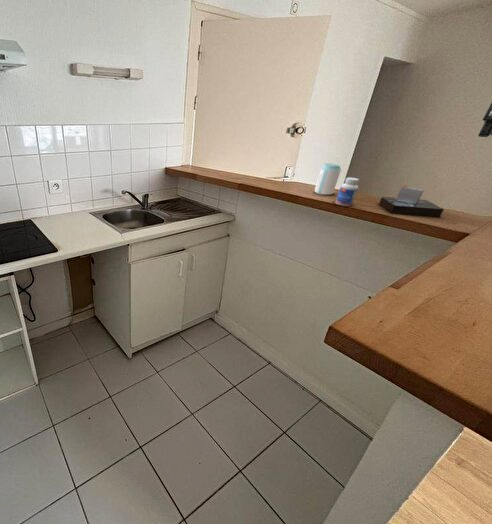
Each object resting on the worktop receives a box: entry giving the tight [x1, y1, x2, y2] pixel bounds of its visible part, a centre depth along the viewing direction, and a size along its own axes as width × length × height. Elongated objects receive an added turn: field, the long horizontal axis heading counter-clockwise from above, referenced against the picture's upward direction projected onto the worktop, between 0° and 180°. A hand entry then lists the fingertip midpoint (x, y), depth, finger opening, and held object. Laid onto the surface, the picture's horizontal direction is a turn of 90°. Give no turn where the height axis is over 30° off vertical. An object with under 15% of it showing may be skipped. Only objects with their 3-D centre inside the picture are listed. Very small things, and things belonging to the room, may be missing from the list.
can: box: [314, 163, 342, 196], centre depth 119 cm, size 7×7×12 cm
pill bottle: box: [334, 177, 360, 207], centre depth 107 cm, size 6×5×10 cm
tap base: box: [378, 196, 445, 219], centre depth 102 cm, size 14×11×3 cm
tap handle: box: [395, 185, 425, 205], centre depth 100 cm, size 6×2×5 cm, turn 28°
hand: (488, 135), depth 86 cm, fingers open, 8 cm apart
